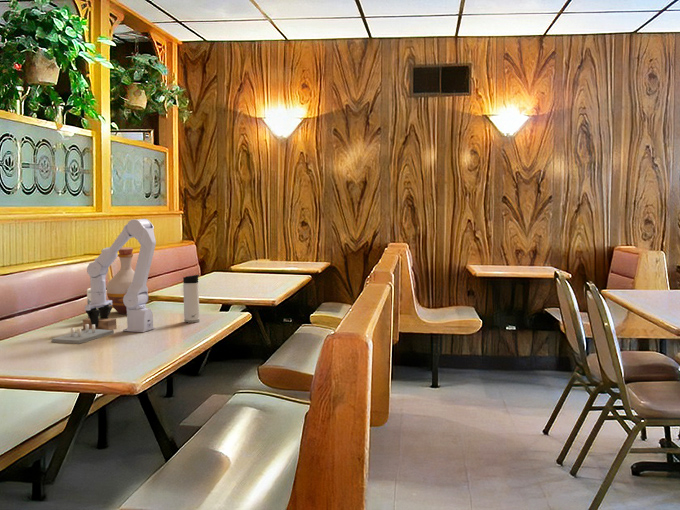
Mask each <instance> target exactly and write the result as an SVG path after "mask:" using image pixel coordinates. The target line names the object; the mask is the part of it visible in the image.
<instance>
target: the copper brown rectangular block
mask: <svg viewBox="0 0 680 510" xmlns="http://www.w3.org/2000/svg"><path fill="white" fill-rule="evenodd" d="M85 324H89V329H92V323H91V320H90V318H88V317H87V318H84V319H82V330H85ZM95 329H101V330H114V331H115V330H116V329H117V318H108V319H105V318H98V327H95Z"/></svg>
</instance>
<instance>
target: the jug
mask: <svg viewBox="0 0 680 510" xmlns="http://www.w3.org/2000/svg"><path fill="white" fill-rule="evenodd" d="M133 250H134V248H133V247H132V246H131V247H130V246H129V247H128V246H127V247H125V246H123V247H122V248H121V249H120V250H119V251H118V258H119V262H120V269H119V270H118V271H117V273H115V275H113V277H112V278H111V279H110V280H109V281H108V282H107V285H106V297H107V298H108V299H107V300H112V305H111V306H112V309H113V310H115V312H117V313H118V314H119V315H127V307H126V306H125V305H124V303H123V298H124V295H125V294H126V293H127V291H128V288H129V287H130V285H131V284H132V281H133V277H134V273H135V270H134V269H133V268H132V259H133V257H134V253H133V252H134V251H133ZM146 286H147V284H146ZM147 287H148V286H147Z"/></svg>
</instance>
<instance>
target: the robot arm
mask: <svg viewBox="0 0 680 510" xmlns="http://www.w3.org/2000/svg"><path fill="white" fill-rule="evenodd" d="M154 229H155V226H154V225H153V223H152V222H151V221H150V220H149V219H147V218H140V219H134V218H133V219H130V220H129V221H128V222H127V223H126V224H125V225H124V226H123V229H122V231H121V232H119V235H117V237H116V239H115V240H114V241H113V243H112V244H111V246H109V247H105V248H102V250H101V251H100V252H101V253H100V254H98V256H97V257H95V259H94V261H93V262H90V263H88V265H87V268H86V272H87V275H88V276H89V277H90V278H89V279H90V280H89V281H90V282H89V283H90V288H91V303H89V304H88V303H87V304H86V305H84V311H85V313H86V314H87V317H88V316H89V318H90V320H91V323H92V325H95V327H98V318H99V313H100V318H105V319H109V316H110V313H111V312H112V309H113V306H112V300H109V299H107V290H106V289H107V285H106V283H107V281H106V279H107V277H106V275H107V274H108V272H109V268H110V266H111V265H112V264H113V263H114V262H115V261H116V259H117V258H119V256H118V255H119V250H120V249H121V248H122V247H125V245H126V244H127V242H128V241H130V239H132V238H134V239H136V240H137V242H138V243H139V244H140V247H139V251H138V255H137V260H136V265H135V270H134V271H135V273H134V277H133V281H132V284H131V285H130V287H129V288H128V291H127V293H126V294H125V295H124V298H123V303H124V305H125V306H126V307H127V314H126V321H127V322H126V323H127V324H126V326H127V328H125V329H122V331H123V332H134V333H135V332H136V333H145V332H148V331H150V330H154V329H155V327H154V316H153V315H154V313H153V310H152V309H151V308H147V303H148V301H149V294H148V292H149V287H148V286H146V285H147V283H148V278H149V275H150V270H151V267H152V262H153V258H154V253H155V249H156V244H157V241H156V240H157V239H156V237H155V231H154ZM96 308H98V310H97V309H96Z"/></svg>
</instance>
